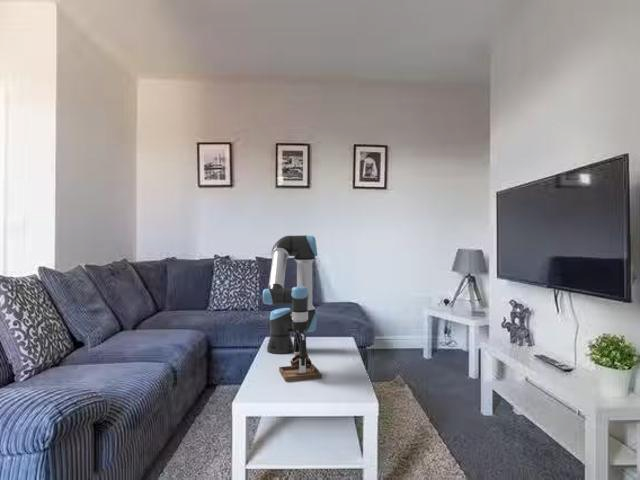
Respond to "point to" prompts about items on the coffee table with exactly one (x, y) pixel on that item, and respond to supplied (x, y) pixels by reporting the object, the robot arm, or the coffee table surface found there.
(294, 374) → the walnut tray
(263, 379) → the coffee table surface
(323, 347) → the coffee table surface
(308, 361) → the pottery mug
